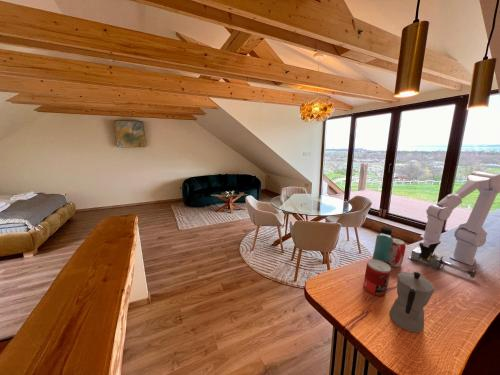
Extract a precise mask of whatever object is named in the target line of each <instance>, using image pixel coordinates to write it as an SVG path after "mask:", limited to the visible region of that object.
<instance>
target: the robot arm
mask: <svg viewBox="0 0 500 375" xmlns="http://www.w3.org/2000/svg"><path fill="white" fill-rule="evenodd" d="M476 190H477V191H478V192H479V194H478V196H477V199H476V201H475V203H474V205H473V207H472V209H471V212H470V214H469V217H468V219H467V220H466V222H465V223H461V224H459V226H457V228H456V229H455V231H454V232H453V233H454V234H453V236H454V238H455V241H457V242H456V245H455V247H454V250H453V253H452V254H451V256H450V257H449V258H450V259H451V260H455V261H457V262H460V263H463V264H466V265H468V266H471V267H472V266H474V263H475V262H476V254H477V250H478V249H479V248H480V247H482V246H484V245H485V244H486V241H487V235H488V233H487V231H486V230H485V229H484V228H483V226H484V223H485V222H486V219H487V217H488V215H489V212H490V210H491V208H492V206H493V204H494V203H495V200H496V198H497V195H498V194H500V174H496V173H489V172H484V171H480V170H479V171H477V170H475V171H472V172H471V173H470V174H469V175H467V179H466V182H464V183H463V184H462V185H461V186H460V187H459V188H458V189H457V190H456V191H455V192H454V193H449V194H447V195H446V196H445V197H444V198H442V199H441V200H439V202H437V203H436V204H435V203H434V204H431V205H428V208H427V209H426V211H425V212H426V218H427V222H426V226H425V230H424V233H423V234H421V235H420V238H422V240H423V242H419V243H418V247H420V248H421V257H422V258H424V259H426V260H427V259H428V257H429V255H430V253H431V252H433V253H435V250H436V248H437V247H438V246H439V245H440V244H441V240H440V238H441V236H442V232H443V227H444V224H445V220H447V219H449V218H450V216H451V214H452V213H453V211H454V210H455V209H456V208H457V207H458V206H459V205H461V204H462V202H463V199H464V198H465V197H467V196H468V195H469V194H470V195H471V194H472V193H473V192H475V191H476Z"/></svg>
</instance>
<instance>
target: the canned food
mask: <svg viewBox="0 0 500 375" xmlns="http://www.w3.org/2000/svg"><path fill="white" fill-rule="evenodd" d="M365 266H366V268H365V273H364V277H363V278H364V279H363V288H364V290H366V292H368V293H369V294H371V295H373V296H376V297H384V296H385V294H386V293H387V291H388V284H389V281H390V276H391V271H392V266H390V265H388V264H386V263H385V262H383V261H380V260H376V259H368V260H367V262H366V265H365Z"/></svg>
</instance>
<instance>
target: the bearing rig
mask: <svg viewBox="0 0 500 375" xmlns="http://www.w3.org/2000/svg"><path fill="white" fill-rule="evenodd" d="M443 258H444V255H443V254H440V253H439V252H433V255H432V257H431V258H430V262H428V261H426V260H423V259H421V248H420V246H419V245H417V246H416V247H415V248H414V249H412V250H411V254H410V256H409V257H408V259H409V260H412V261H414V262H416V263H419V264H421V265H424V266H427V267H429V268H432V269H434V270H435V271H441V269H442V268H443V267H444V265H443V264H441V263H439V262H440V260H442V261H443Z"/></svg>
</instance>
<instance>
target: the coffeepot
mask: <svg viewBox="0 0 500 375" xmlns="http://www.w3.org/2000/svg"><path fill="white" fill-rule="evenodd" d="M396 278H397V279H396V280H397V283H396V294H397V297H396V298H395V299H394V302H393V303H392V305H391V307H390V310H389V317H390V319H391V321H392V322H393V323H394V324H395V325H396V326H397V327H399V328H401V329H403V330H404V331H407V332H409V333H412V334H413V333H416V334H418V333H420V332H422V331H423V330H424V329H425V310H424V307H426V306H427V305H428V303H429V301H430V300H431V298H432V296H433V294H434V292H435V290H436V288H435V286H434V285H433V283H432V282H431V281H430V280H429V279H426V278H424V276H423V275H422V274H421V273H420V272H418V271H415V272H407V271H402V272H400V273H398V274H397V276H396Z"/></svg>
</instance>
